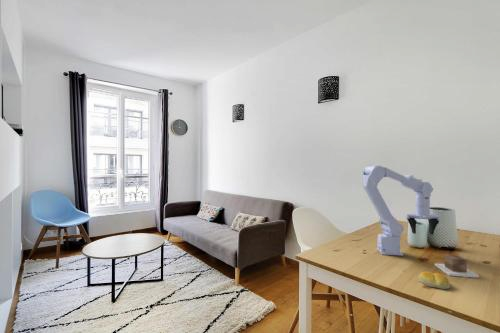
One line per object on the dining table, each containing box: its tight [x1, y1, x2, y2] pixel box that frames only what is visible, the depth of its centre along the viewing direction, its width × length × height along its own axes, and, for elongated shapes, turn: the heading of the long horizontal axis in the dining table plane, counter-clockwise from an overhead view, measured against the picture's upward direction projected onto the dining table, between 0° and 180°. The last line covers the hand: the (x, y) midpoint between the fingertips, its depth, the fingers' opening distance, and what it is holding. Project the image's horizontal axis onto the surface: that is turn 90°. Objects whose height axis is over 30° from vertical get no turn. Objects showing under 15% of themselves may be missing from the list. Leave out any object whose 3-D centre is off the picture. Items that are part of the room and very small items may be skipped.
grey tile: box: [434, 262, 480, 279], centre depth 98 cm, size 10×10×1 cm
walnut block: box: [444, 253, 468, 272], centre depth 98 cm, size 5×5×5 cm
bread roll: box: [418, 270, 450, 290], centre depth 88 cm, size 8×9×4 cm
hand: (422, 233), depth 120 cm, fingers open, 7 cm apart
